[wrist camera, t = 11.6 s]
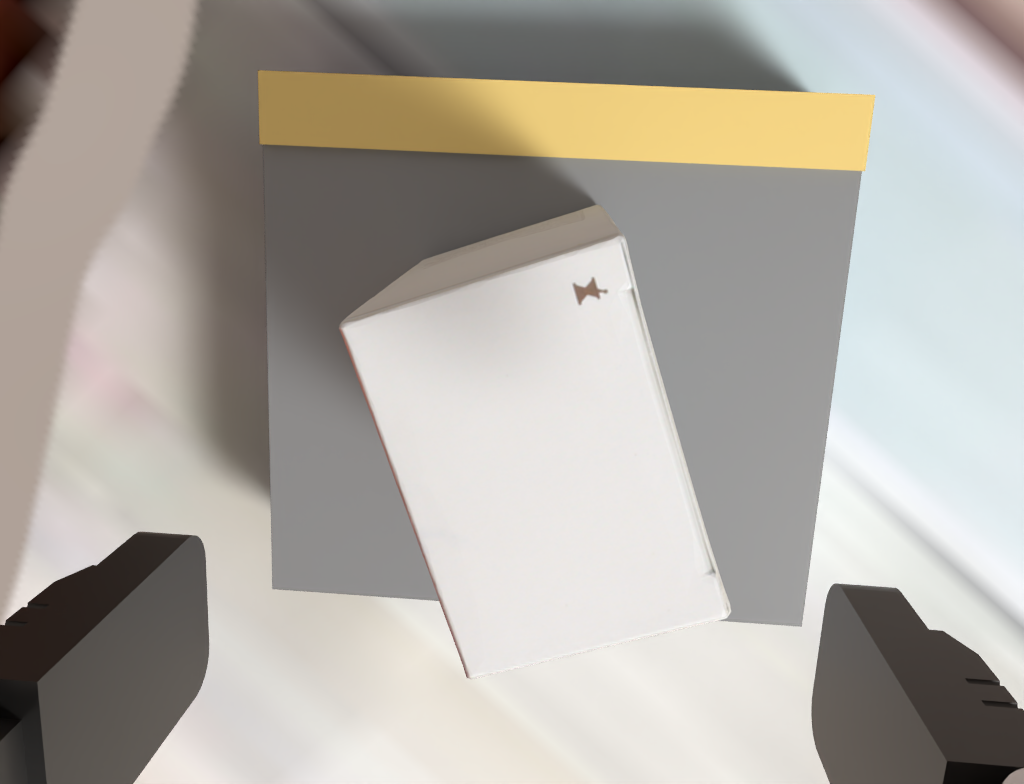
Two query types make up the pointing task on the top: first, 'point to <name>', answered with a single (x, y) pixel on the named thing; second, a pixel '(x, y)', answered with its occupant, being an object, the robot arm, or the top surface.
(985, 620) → the top surface
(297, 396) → the loading dock
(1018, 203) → the top surface
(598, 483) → the small box
